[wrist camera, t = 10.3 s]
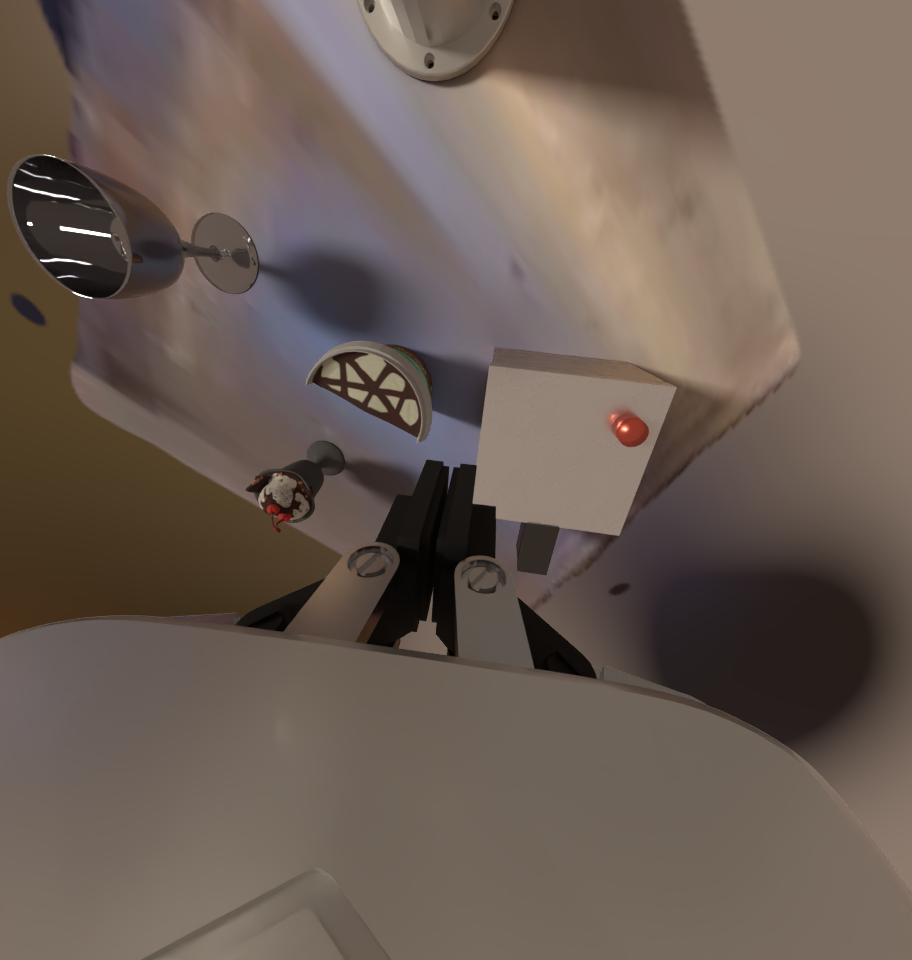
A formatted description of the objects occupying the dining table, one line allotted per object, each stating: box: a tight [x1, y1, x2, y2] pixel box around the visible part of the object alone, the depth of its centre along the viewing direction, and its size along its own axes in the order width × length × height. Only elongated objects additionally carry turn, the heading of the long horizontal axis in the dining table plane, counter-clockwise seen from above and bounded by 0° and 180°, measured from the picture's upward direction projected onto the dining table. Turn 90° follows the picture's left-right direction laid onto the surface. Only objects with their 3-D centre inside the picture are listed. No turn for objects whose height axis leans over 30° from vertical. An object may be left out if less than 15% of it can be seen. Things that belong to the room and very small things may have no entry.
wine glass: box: [7, 154, 258, 299], centre depth 30 cm, size 8×8×15 cm
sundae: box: [246, 441, 344, 533], centre depth 40 cm, size 7×7×15 cm
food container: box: [306, 341, 432, 443], centre depth 35 cm, size 12×6×10 cm, turn 62°
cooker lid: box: [473, 363, 677, 575], centre depth 32 cm, size 20×14×3 cm
